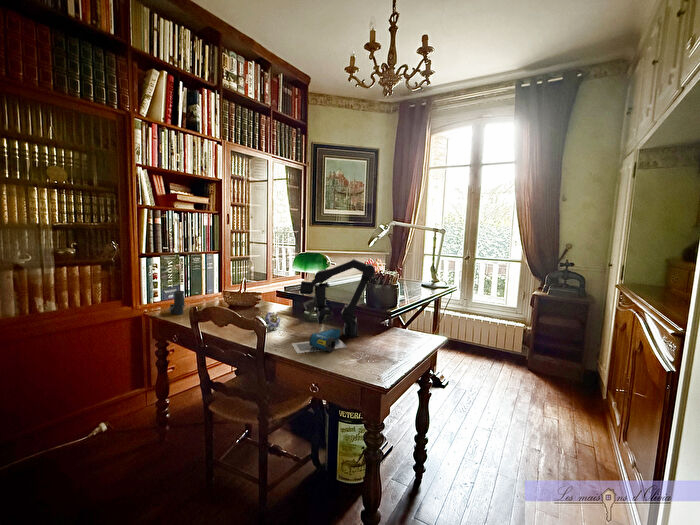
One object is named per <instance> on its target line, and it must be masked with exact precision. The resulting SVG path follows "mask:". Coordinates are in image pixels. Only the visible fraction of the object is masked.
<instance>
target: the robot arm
mask: <svg viewBox="0 0 700 525" xmlns="http://www.w3.org/2000/svg"><path fill="white" fill-rule="evenodd" d="M352 269H356V270H357V271H359V272H361V277H360V280H359V282H358V285H357V287H356V289H355V290H354V292H353V295H352V297H351V299H350V301H349V303H348V304H346V303H345V304H344V307H343V308H342V310H341V312H340V314H341V320H342V321H343V322H344V323H343V324H344V325H343V327H342V335H344V336H345V337H346V338H354V337H355V338H356V337H359V334H358V323H357V322H358V321H357V320H358V319H357V318H358V317H357V316H356V315H354V314H355V310H356V308H357V306H358V303H359V301H360V299H361V297H362V295H363V293H364V290H365V289H366V286H367V285H368V283H369V282H370V281H371V279H372V277H373V276H374V275H375V273H376V269H375V266H374V265H373V264H372V263H367V264H366V263H364V262H362V261H359V260H357V259H354V258H352V259H351V260H350V261H347V262H345V263H342V264H339V265H336V266H334V267H332V268H331V267H330V268H325V269H322V270H321V269H320V270H319V271H317V272H316V273H315V274H314V279H312V280H311V281H306V280H305V281H304V280H302V281H300V288H299V294H300V295H313V293H314V296H312V299H310V300H307V301H305V302H303V306H304V307H303V308H304V309H305V310H306V311H310V310H312V312H314V313H315V315H316V319H317V323H318V325H321V324H322V323H323V321H324V319H325V317H326V316H331V315H332V310H331V309H330V308H329V307H328V305H327V304H326V303H327V301H326V300H328V298H327V288H330V286H331V284H330V283H329V282H327V280H329V279H330V278H332V277H333V276H337V275H338V274H342V273H344V272H347V271H348V270H352Z"/></svg>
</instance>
